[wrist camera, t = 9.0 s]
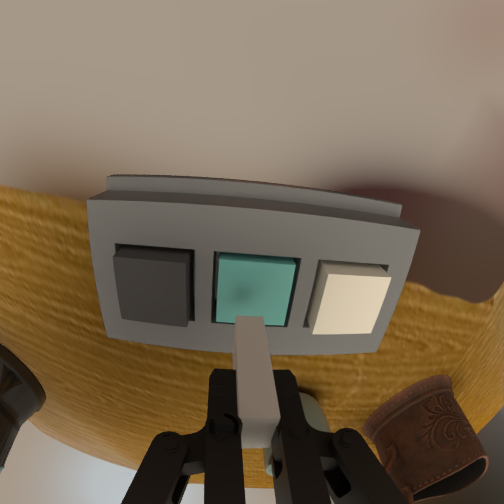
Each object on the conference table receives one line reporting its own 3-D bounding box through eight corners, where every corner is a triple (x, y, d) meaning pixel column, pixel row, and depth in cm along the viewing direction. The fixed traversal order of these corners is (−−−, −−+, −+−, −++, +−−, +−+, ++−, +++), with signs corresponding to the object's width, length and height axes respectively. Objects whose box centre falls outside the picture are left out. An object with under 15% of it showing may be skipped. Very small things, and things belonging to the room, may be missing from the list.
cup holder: (411, 432, 40) (446, 519, 17) (316, 443, 37) (341, 565, 14) (467, 372, 34) (525, 467, 11) (377, 374, 30) (444, 536, 7)
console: (125, 317, 25) (109, 346, 21) (113, 174, 20) (86, 183, 15) (356, 331, 27) (371, 360, 23) (395, 202, 21) (423, 216, 17)
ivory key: (304, 311, 22) (312, 334, 19) (316, 255, 20) (328, 273, 17) (358, 312, 22) (370, 333, 19) (374, 260, 20) (391, 277, 18)
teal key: (218, 299, 22) (215, 321, 19) (221, 242, 20) (219, 259, 18) (278, 303, 23) (283, 325, 20) (288, 248, 21) (295, 265, 18)
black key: (133, 297, 21) (121, 318, 18) (128, 240, 19) (112, 256, 16) (192, 304, 21) (187, 327, 18) (193, 245, 19) (185, 263, 16)
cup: (247, 403, 31) (250, 471, 21) (296, 374, 29) (312, 448, 20) (285, 422, 33) (294, 481, 24) (331, 397, 31) (349, 459, 22)
